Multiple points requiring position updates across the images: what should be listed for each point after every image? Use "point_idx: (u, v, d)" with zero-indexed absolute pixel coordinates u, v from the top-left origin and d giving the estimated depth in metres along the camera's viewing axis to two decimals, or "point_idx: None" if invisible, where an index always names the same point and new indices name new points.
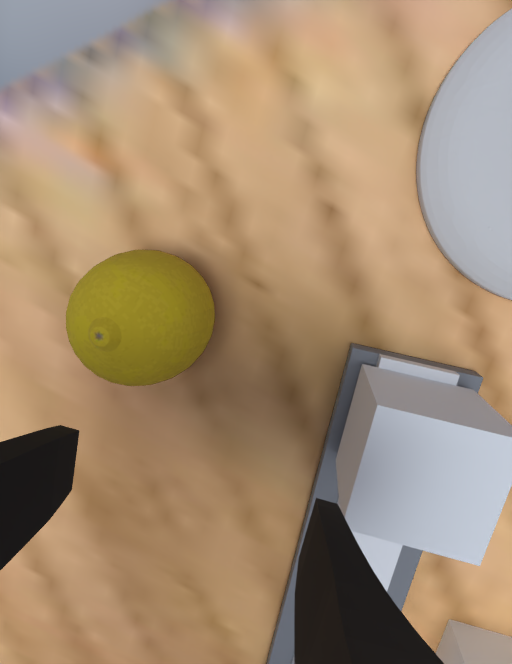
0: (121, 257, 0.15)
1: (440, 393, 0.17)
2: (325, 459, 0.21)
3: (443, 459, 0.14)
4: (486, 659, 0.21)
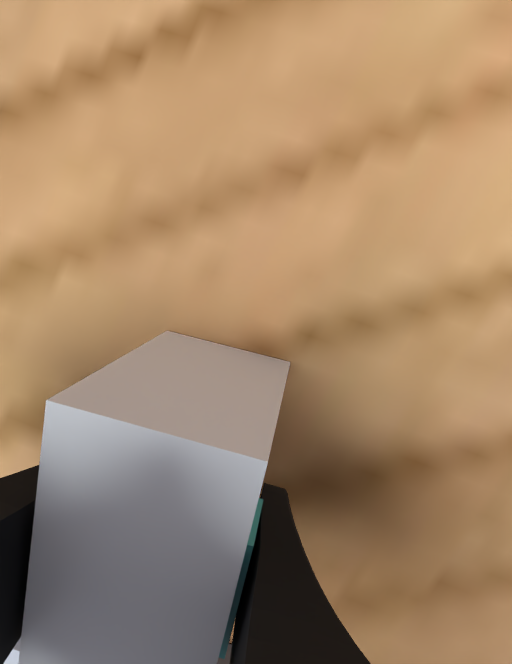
0: None
1: None
2: None
3: None
4: None
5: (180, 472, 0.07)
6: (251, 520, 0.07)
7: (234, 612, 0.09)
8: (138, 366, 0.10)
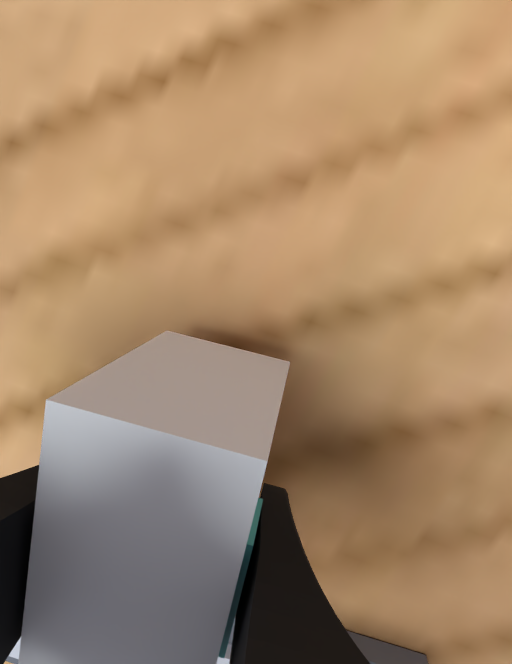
0: None
1: None
2: None
3: None
4: None
5: (180, 471, 0.07)
6: (251, 519, 0.07)
7: (234, 611, 0.09)
8: (138, 365, 0.10)
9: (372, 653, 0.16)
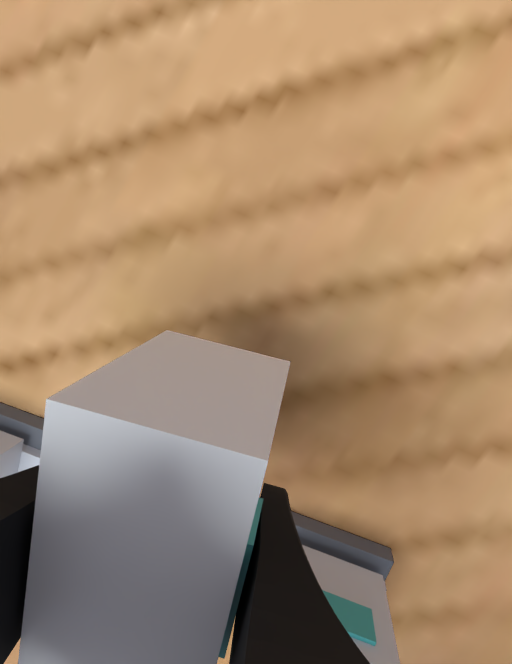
0: None
1: None
2: None
3: None
4: None
5: (180, 471, 0.07)
6: (251, 519, 0.07)
7: (234, 611, 0.09)
8: (138, 365, 0.10)
9: (351, 541, 0.22)
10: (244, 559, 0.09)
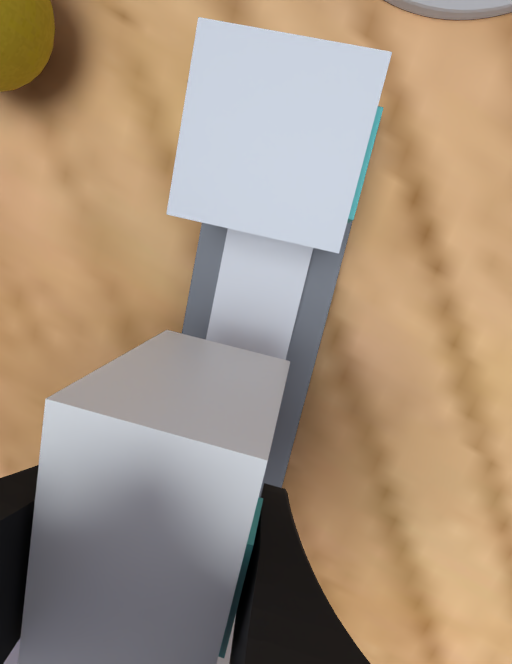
0: None
1: None
2: (203, 231, 0.17)
3: (285, 94, 0.11)
4: None
5: (180, 471, 0.07)
6: (251, 519, 0.07)
7: (234, 611, 0.09)
8: (137, 365, 0.10)
9: None
10: (244, 559, 0.08)
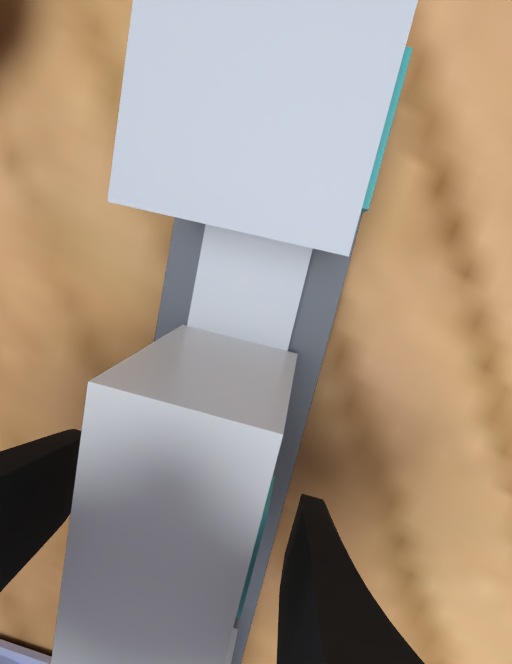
0: None
1: None
2: (176, 228, 0.14)
3: (271, 25, 0.07)
4: None
5: (206, 444, 0.08)
6: (268, 486, 0.08)
7: (250, 575, 0.10)
8: (161, 355, 0.11)
9: None
10: (259, 527, 0.10)
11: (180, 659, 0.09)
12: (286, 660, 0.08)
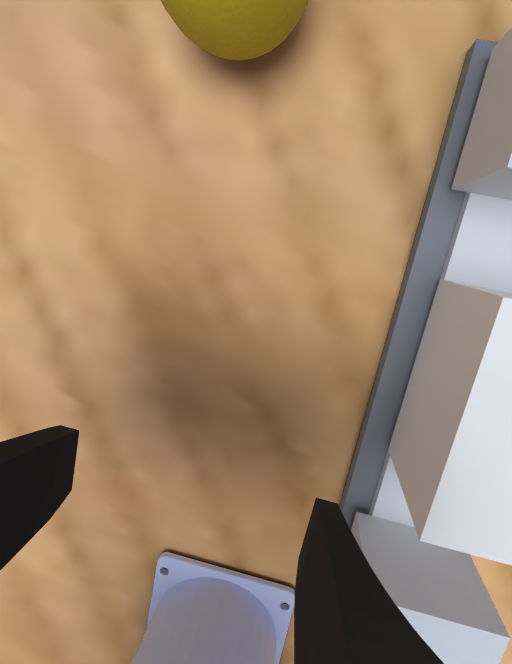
0: None
1: None
2: (434, 199, 0.17)
3: None
4: (404, 445, 0.17)
5: None
6: None
7: None
8: (487, 291, 0.14)
9: None
10: None
11: None
12: None
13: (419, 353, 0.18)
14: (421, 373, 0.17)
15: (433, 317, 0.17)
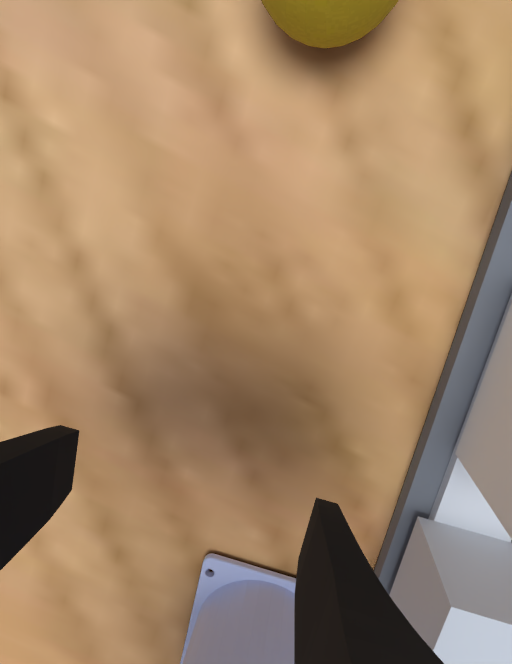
0: None
1: None
2: None
3: None
4: (481, 449, 0.16)
5: None
6: None
7: None
8: None
9: None
10: None
11: None
12: None
13: (494, 355, 0.17)
14: (500, 375, 0.16)
15: None
